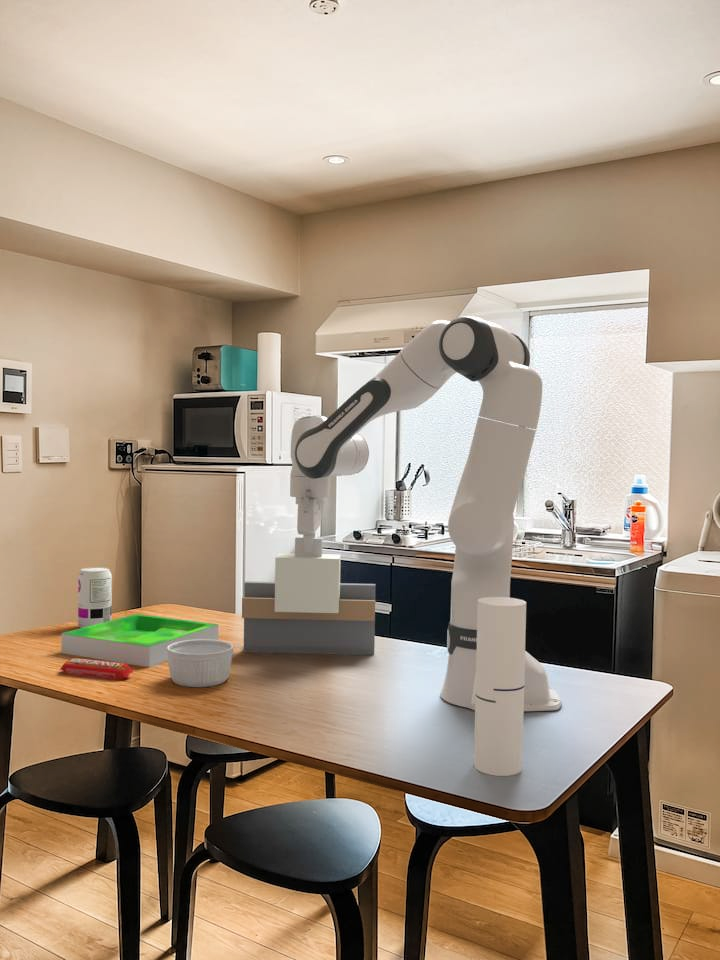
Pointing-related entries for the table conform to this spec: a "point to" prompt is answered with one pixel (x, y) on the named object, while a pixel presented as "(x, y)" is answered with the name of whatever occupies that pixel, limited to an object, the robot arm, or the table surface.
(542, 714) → the table surface
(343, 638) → the wall board
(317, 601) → the off-white handled block
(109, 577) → the supplement can
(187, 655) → the ramekin
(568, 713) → the table surface
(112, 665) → the candy bar
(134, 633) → the tray
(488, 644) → the cylindrical container
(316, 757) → the table surface
